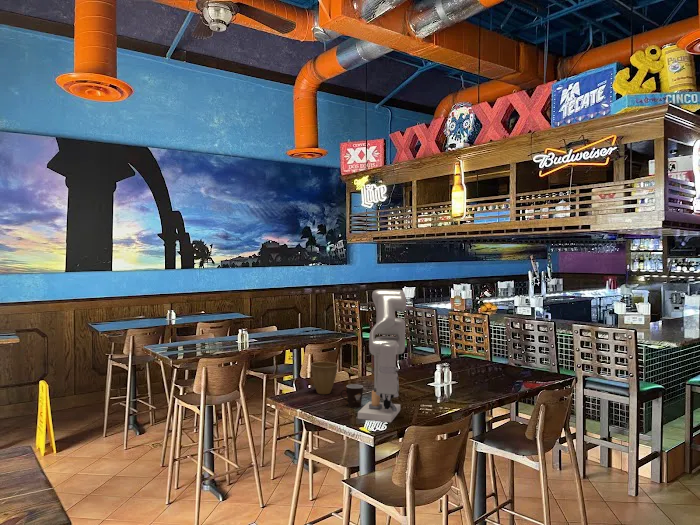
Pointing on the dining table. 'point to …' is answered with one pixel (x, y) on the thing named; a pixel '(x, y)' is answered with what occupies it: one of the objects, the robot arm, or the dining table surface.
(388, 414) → the socket board
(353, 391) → the coffee mug
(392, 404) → the clip
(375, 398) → the plug
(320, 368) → the plant pot
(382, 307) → the robot arm
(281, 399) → the dining table surface
